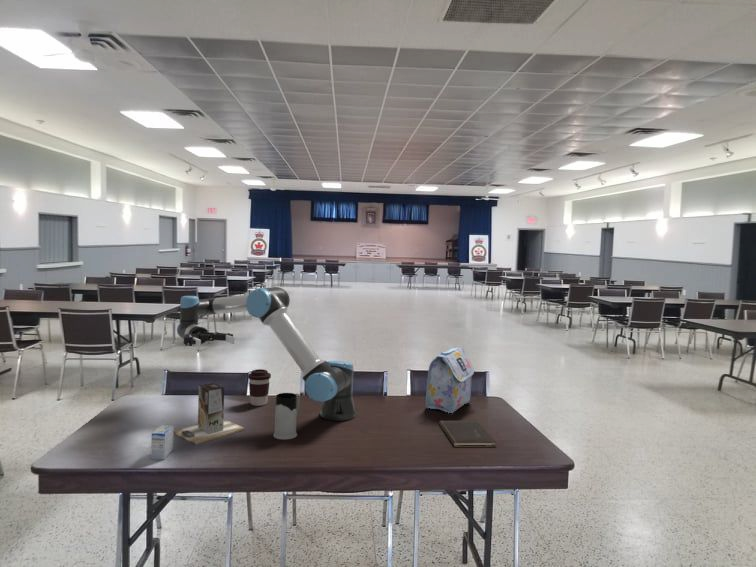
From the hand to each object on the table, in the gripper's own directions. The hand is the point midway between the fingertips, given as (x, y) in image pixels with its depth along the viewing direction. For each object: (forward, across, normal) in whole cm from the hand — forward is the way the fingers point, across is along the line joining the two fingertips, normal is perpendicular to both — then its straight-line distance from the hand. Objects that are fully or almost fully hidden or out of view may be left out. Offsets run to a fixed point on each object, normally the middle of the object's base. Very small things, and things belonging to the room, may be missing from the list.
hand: (217, 342), depth 187 cm
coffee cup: (-12, -25, -32) cm, 42 cm away
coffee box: (+9, +6, -31) cm, 33 cm away
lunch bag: (+41, -95, -32) cm, 108 cm away
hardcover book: (+68, -72, -33) cm, 105 cm away
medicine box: (+21, +26, -32) cm, 46 cm away
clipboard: (+9, +6, -32) cm, 34 cm away
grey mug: (+27, -18, -32) cm, 46 cm away
